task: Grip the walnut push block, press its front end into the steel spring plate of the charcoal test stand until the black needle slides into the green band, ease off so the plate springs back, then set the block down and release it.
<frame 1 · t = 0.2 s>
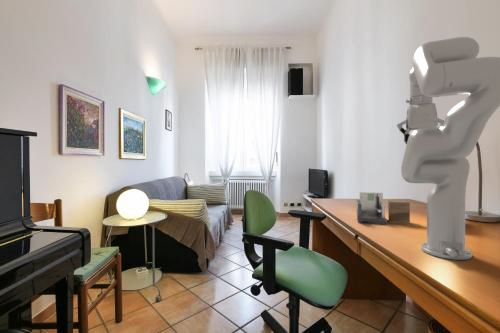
hand: (421, 143, 101), 36 cm above the table, tool pointing down, fingers open, 9 cm apart
needle marker: (378, 206, 122), point 7 cm above the table, slide at 0.0 cm
push block: (398, 222, 116), on the table
test stand: (370, 220, 120), on the table
spring plate: (380, 210, 119), point 5 cm above the table, slide at 0.0 cm
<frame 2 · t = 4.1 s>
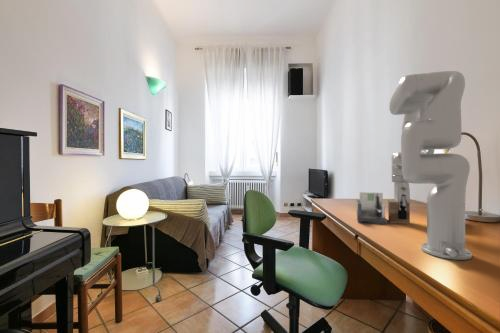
hand: (401, 217, 116), 2 cm above the table, tool pointing down, fingers closed on push block, 4 cm apart
push block: (398, 222, 116), on the table, touching gripper
everything else where it was.
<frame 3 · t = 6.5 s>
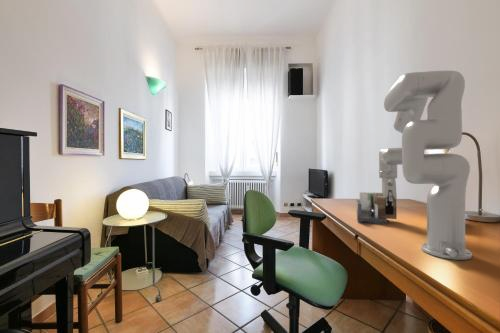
hand: (388, 212, 117), 4 cm above the table, tool pointing down, fingers closed on push block, 4 cm apart
needle marker: (372, 206, 123), point 7 cm above the table, slide at 2.5 cm, touching spring plate
push block: (386, 217, 118), point 2 cm above the table, touching gripper, spring plate
spring plate: (373, 210, 120), point 5 cm above the table, slide at 2.9 cm, touching needle marker, push block
everything else where it was.
when the fingers open (3 cm above the table, at t = 9.3 s): push block stays where it is, on the table.
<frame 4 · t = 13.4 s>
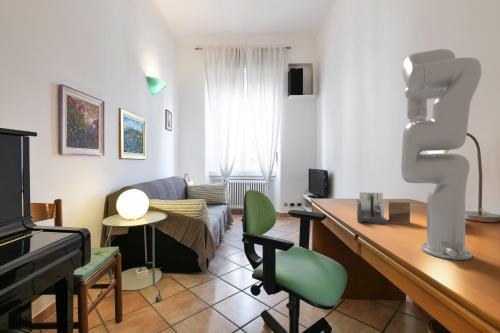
hand: (417, 151, 114), 33 cm above the table, tool pointing down, fingers open, 9 cm apart
needle marker: (372, 206, 123), point 7 cm above the table, slide at 2.5 cm
push block: (399, 222, 116), on the table
spring plate: (379, 210, 119), point 5 cm above the table, slide at 0.4 cm
everything else where it was.
at the end: needle marker slide at 2.5 cm; spring plate slide at 0.4 cm; push block tilted 0° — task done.
